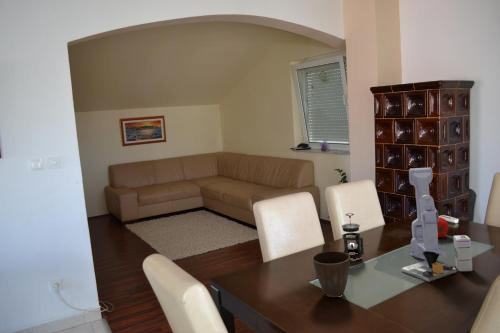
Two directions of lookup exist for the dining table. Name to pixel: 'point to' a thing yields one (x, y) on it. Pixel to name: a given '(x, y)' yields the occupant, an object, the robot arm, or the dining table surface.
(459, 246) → the white segmented block tower
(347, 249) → the french press
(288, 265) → the dining table surface
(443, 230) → the tomato
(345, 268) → the plant pot
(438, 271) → the yellow rounded piece
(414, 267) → the breaker panel
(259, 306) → the dining table surface
